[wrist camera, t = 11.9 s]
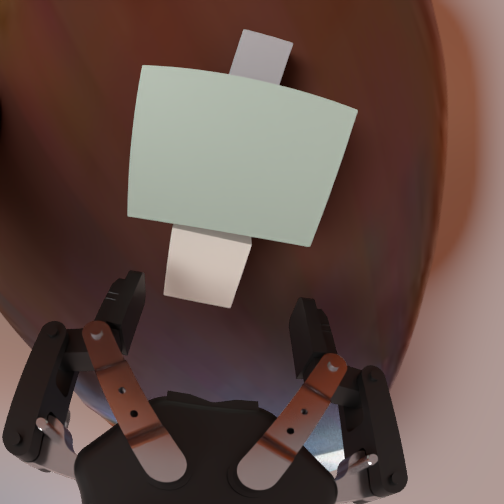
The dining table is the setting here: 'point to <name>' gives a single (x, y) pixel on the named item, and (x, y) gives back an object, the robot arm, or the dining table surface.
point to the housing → (234, 154)
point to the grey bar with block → (210, 241)
